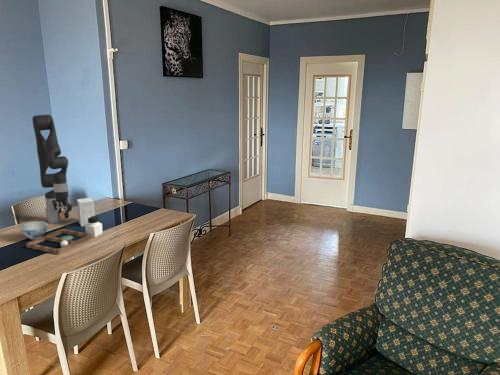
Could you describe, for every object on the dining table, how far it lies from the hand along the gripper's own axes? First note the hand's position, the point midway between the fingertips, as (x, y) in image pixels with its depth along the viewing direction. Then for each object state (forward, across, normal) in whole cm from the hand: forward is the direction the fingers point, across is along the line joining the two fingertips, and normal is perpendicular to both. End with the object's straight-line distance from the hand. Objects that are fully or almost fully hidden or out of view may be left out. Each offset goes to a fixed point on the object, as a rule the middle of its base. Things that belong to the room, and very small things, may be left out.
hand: (63, 217), depth 226 cm
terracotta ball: (0, 0, 0) cm, 0 cm away
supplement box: (+14, -8, +26) cm, 30 cm away
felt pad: (+13, 0, 0) cm, 13 cm away
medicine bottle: (+14, +11, +12) cm, 21 cm away
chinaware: (+14, -18, -6) cm, 23 cm away
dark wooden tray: (+14, +2, -6) cm, 15 cm away
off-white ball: (+14, +10, -10) cm, 19 cm away
